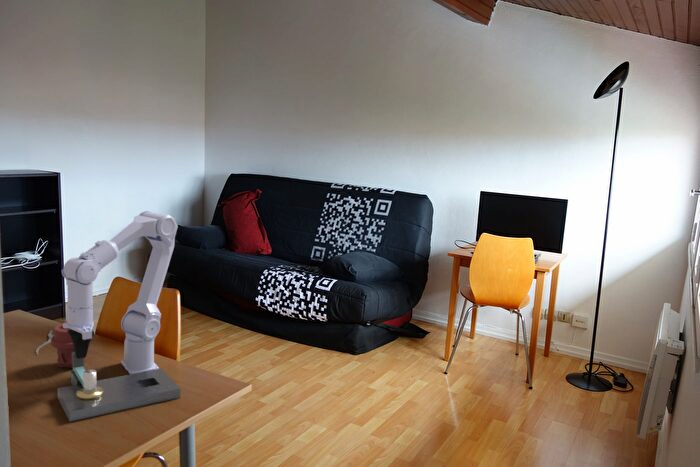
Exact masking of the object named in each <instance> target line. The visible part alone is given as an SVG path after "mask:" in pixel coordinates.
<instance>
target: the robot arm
mask: <svg viewBox="0 0 700 467" xmlns="http://www.w3.org/2000/svg"><path fill="white" fill-rule="evenodd" d="M178 228H179V226H178V224H177V222H176V220H175V218H174V217H173V216H172V215H169V214H162V213H157V212H152V211H148V210H144V211H141V212H140V213H139V214H138V215H136V216H134V218H133V221H131V223H130V224H128V225H127V226H125V227H124V228H123V229H122V230H121V231H120V232H119V233H117V234H116V235H115V236H114V237H112V238H111V239H109V240H105V239H104V240H97V241H96V242H95V243H94V246H92V247H90V248H89V249H88V250H87V251H85V252H81V253H80V255H79V257H71V258H70V259H68V260H67V261H66V262H65V263H64V265H63V269H61V275H62V277H64V278H65V281H66V282H65V283H66V286H67V321H68V323H64V322H63V323H64V324H63V328H70V330H68V331H67V332H68V334H69V335H70V337H71V340H72V343H73V347H74V351H75V355H76V357H77V359H80V358H85V359H86V358H87V355H88V352H89V351H88V350H89V346H90V343H91V342H92V339H93V337H94V335H95V331H94V330H93V327H94V326H95V321H94V288H93V282H95V281H96V279H97V277H98V275H99V273H100V272H101V271H102V270H103V269H104V268H105V267H106V266H108V265H109V264H110V263H112V262H113V261H115V260H116V259H117V258H118V254H119V251H121V250H123V249H124V248H125V247H127V246H128V245H130V244H132V243H133V242H134V241H137V240H138V239H140V238H142V237H145V238H146V239H147V240H148V241H149V243H150V245H151V247H152V249H151V252H150V256H149V260H148V262H147V265H146V270H145V273H144V276H143V280H142V282H141V286H140V289H139V292H138V296H137V299H136V301H135V302H133V303H131V304H130V305H129V306H128V307H127V310H126V312H125V314H124V315H123V316H122V319H121V321H120V327H121V330H122V331H123V332H124V333H125V339H124V344H123V345H124V346H123V348H124V349H123V351H124V352H123V353H124V356H123V360H121V361H120V364H121V365H122V366H123V367H124V369H125V370H126V371H127V372H128V375H130V374H135V373H141V372H146V371H151V370H157V369H160V366H158V364H156V363H155V339H156V338H157V335H159V332H160V330H161V317H162V313H161V311H160V309H159V308H158V306H157V305H158V301H159V298H160V295H161V292H162V288H163V285H164V282H165V279H166V275H167V272H168V268H169V266H170V262H171V258H172V255H173V252H174V248H175V243H176V242H175V241H176V240H175V238H176V236H177V230H178Z"/></svg>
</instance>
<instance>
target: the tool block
mask: <svg viewBox="0 0 700 467" xmlns="http://www.w3.org/2000/svg"><path fill="white" fill-rule="evenodd" d="M70 384H71V385H67V386H61V387H57V389H56V390H57V393H56V394H57V399H58V402H59V404H60V405H61V408H62V409H63V411H64V413H65V415H66V418H67V419H68V421H69V423H70V422H71V423H72V422H76V421H81V420H85V419H90V418H94V417H99V416H103V415H107V414H111V413H117V412H122V411H126V410H131V409H133V408H139V407H143V406H149V405H153V404H158V403H162V402H167V401H172V400H176V399H180V398H181V387H180V386H179V385H178V384H177V383H176V381H174V380H173V379H172V377H170V375H169V374H168V373H166V371H165V370H164V369H163V368H159V369H157V370H151V371H146V372H141V373H135V374H126V375H120V376H116V377H115V376H114V377H110V378H105V379H99V380H97V386H98V387H101V388H103V395H102V396H100V397H98V398H96V399H91V400H82V399H79V398H77V391H78V390H79V389H81V388H83V386H82V384H81V382H80V381H79V379H78V377H77V376H76V374H75V372H74V371H73V370H70Z"/></svg>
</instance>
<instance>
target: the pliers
mask: <svg viewBox="0 0 700 467" xmlns="http://www.w3.org/2000/svg"><path fill="white" fill-rule="evenodd" d="M53 336H54V332H53V330H51V329H50V331H49V332H48V333H47V337H48V339H47V341H44V342H43V343H42V344H41V345H39V346H38V347H37V348H36V349H35V355H37V356H39V351H40V349H41V348H43V347H45V346H47V345H49V344H51V338H52V337H53Z"/></svg>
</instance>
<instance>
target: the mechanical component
mask: <svg viewBox="0 0 700 467" xmlns="http://www.w3.org/2000/svg"><path fill="white" fill-rule="evenodd" d="M64 323H68V320H67V321H64V322H63V323H59V324H56V325H54V328H53V335H54V336H53V337H52V338H51V342H50V345H51V346H52V347H53V348H56V354H57V360H56V361H57V363H58V364H57V365H58V367H59V368H72V369H73V366H72V352H75V351H74V347H73V343H72V340H71V337H70V335H69V334H68V332H67V331H68V330H70V328H63V324H64ZM85 360H86V358H84V361H85Z"/></svg>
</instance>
